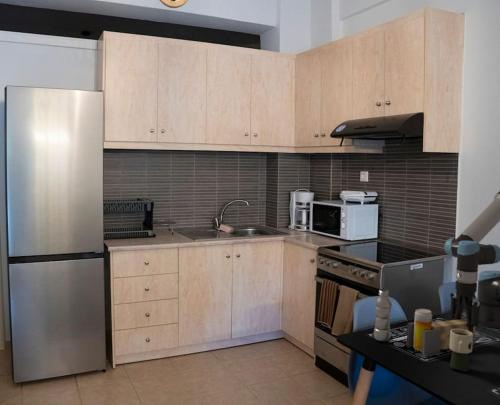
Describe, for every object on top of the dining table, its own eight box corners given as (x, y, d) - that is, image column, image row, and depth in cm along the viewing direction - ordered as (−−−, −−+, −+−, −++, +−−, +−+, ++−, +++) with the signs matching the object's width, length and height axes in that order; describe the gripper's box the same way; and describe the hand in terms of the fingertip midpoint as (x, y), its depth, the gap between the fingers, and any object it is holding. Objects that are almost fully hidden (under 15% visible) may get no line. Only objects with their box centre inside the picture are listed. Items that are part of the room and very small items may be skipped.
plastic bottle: (393, 340, 192) (395, 290, 190) (385, 344, 187) (387, 293, 185) (378, 335, 196) (380, 287, 195) (370, 340, 191) (372, 290, 190)
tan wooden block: (465, 340, 193) (466, 318, 192) (474, 344, 188) (475, 322, 188) (424, 346, 186) (425, 323, 185) (432, 350, 181) (433, 327, 181)
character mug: (471, 377, 160) (473, 339, 159) (447, 373, 163) (449, 335, 161) (470, 364, 170) (472, 328, 169) (448, 361, 173) (450, 325, 171)
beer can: (431, 353, 179) (433, 314, 178) (414, 352, 180) (416, 312, 179) (428, 347, 185) (430, 309, 184) (412, 346, 186) (414, 307, 185)
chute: (419, 342, 190) (420, 320, 189) (441, 354, 178) (442, 330, 177) (404, 344, 187) (405, 322, 186) (426, 356, 176) (427, 332, 175)
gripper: (442, 276, 194) (439, 333, 196) (476, 287, 177) (472, 349, 180) (457, 275, 196) (453, 331, 199) (492, 286, 180) (488, 347, 182)
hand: (462, 339), depth 189 cm, fingers closed on tan wooden block, 4 cm apart
